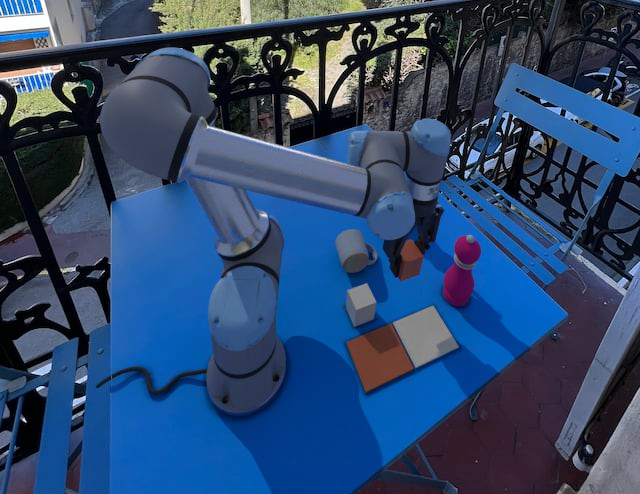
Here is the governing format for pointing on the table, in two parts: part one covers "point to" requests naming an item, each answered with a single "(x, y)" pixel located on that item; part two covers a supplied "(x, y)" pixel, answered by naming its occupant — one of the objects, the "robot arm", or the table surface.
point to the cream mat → (425, 336)
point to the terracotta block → (410, 261)
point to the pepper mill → (461, 271)
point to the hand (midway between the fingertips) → (404, 268)
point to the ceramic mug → (354, 251)
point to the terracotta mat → (379, 357)
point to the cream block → (360, 304)
